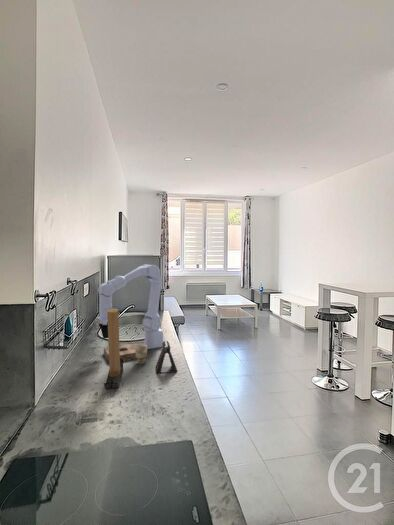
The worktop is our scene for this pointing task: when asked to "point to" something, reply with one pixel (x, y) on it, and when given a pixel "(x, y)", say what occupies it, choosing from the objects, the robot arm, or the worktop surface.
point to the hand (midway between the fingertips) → (106, 335)
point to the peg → (141, 353)
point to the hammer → (114, 351)
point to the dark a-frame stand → (161, 358)
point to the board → (124, 352)
